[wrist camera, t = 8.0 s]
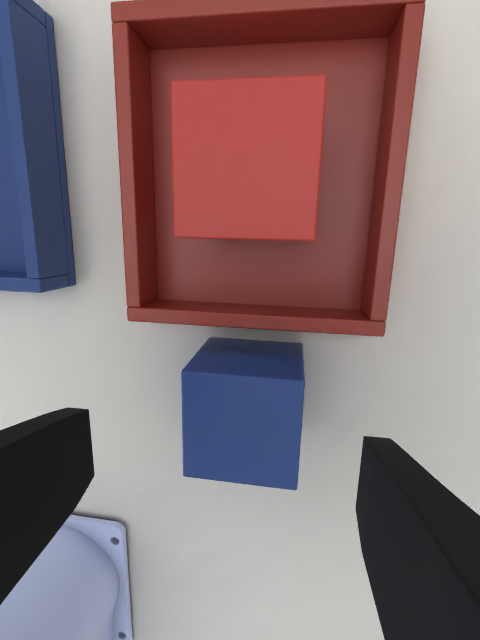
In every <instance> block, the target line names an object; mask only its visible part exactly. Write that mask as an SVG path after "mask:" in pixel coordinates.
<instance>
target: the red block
mask: <svg viewBox="0 0 480 640" xmlns="http://www.w3.org/2000/svg"><path fill="white" fill-rule="evenodd" d="M326 89H327V75H325V74H320V75H295V76H270V77H245V78H220V79H195V80H172V81H171V124H172V172H173V219H174V237H175V238H197V239H236V240H275V241H315V240H316V229H317V215H318V201H319V187H320V173H321V159H322V145H323V131H324V117H325V103H326Z"/></svg>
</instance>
